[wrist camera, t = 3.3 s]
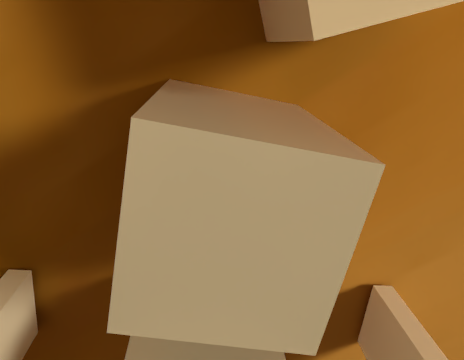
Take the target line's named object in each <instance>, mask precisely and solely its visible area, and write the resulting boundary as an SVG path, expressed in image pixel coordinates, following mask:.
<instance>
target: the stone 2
mask: <svg viewBox="0 0 464 360" xmlns="http://www.w3.org/2000/svg"><path fill="white" fill-rule="evenodd" d="M124 360H286V358H285V354H284V352H276V351H267V350H258V349H249V348H240V347H231V346H222V345H212V344H203V343H194V342H185V341H176V340H167V339H158V338H149V337H139V336H130V340H129V344H128V348H127V352H126V356H125V359H124Z"/></svg>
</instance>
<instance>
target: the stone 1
mask: <svg viewBox="0 0 464 360" xmlns="http://www.w3.org/2000/svg"><path fill="white" fill-rule="evenodd" d="M384 168H385V164H383V163H382V162H380V161H379V160H378V159H376V158H375V157H373V156H372V155H370V154H369V153H367V152H366V151H364V150H363V149H361V148H360V147H358V146H357V145H356V144H354V143H353V142H351V141H350V140H348V139H347V138H345V137H344V136H342V135H341V134H339V133H338V132H336V131H335V130H334V129H332V128H331V127H329V126H328V125H326V124H325V123H323V122H322V121H320V120H319V119H317V118H316V117H314V116H313V115H312V114H310V113H309V112H307V111H306V110H304V109H303V108H301V107H300V106H298V105H295V104H290V103H285V102H280V101H276V100H271V99H266V98H261V97H256V96H251V95H246V94H241V93H236V92H232V91H227V90H222V89H217V88H212V87H207V86H202V85H197V84H192V83H188V82H183V81H178V80H173V79H169V80H168V81H167V82H166V83H165V84H164V85H163V86H162V87H161V88H160V89H159V90H158V91H157V92H156V93H155V94H154V95H153V96H152V97H151V98H150V99H149V100H148V101H147V102H146V103H145V104H144V105H143V106H142V107H141V108H140V109H139V110H138V111H137V112H136V113H135V114H134V115H133V116H132V117H131V124H130V133H129V141H128V150H127V159H126V168H125V177H124V185H123V194H122V203H121V212H120V221H119V229H118V238H117V247H116V256H115V265H114V273H113V282H112V291H111V300H110V309H109V317H108V326H107V333H112V334H121V335H130V336H139V337H149V338H158V339H167V340H176V341H185V342H194V343H203V344H212V345H222V346H231V347H240V348H249V349H258V350H267V351H276V352H285V353H295V354H304V355H313V356H316V353H317V350H318V348H319V345H320V342H321V339H322V337H323V334H324V331H325V329H326V326H327V323H328V320H329V318H330V315H331V312H332V309H333V307H334V304H335V301H336V299H337V296H338V293H339V290H340V288H341V285H342V282H343V279H344V277H345V274H346V271H347V269H348V266H349V263H350V260H351V258H352V255H353V252H354V250H355V247H356V244H357V241H358V239H359V236H360V233H361V230H362V228H363V225H364V222H365V220H366V217H367V214H368V211H369V209H370V206H371V203H372V201H373V198H374V195H375V192H376V190H377V187H378V184H379V181H380V179H381V176H382V173H383V171H384Z"/></svg>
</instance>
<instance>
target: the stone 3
mask: <svg viewBox="0 0 464 360" xmlns="http://www.w3.org/2000/svg"><path fill="white" fill-rule="evenodd" d="M258 1H259V6H260V11H261V16H262V21H263V26H264V31H265V36H266V41H267V42H288V41H315V40H319V39H323V38H327V37H330V36H334V35H338V34H342V33H345V32H349V31H353V30H357V29H360V28H364V27H368V26H371V25H375V24H379V23H383V22H386V21H390V20H394V19H398V18H401V17H405V16H409V15H413V14H416V13H420V12H424V11H428V10H431V9H435V8H439V7H443V6H446V5H450V4H454V3H458V2H461V1H464V0H258Z"/></svg>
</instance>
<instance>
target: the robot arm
mask: <svg viewBox="0 0 464 360" xmlns="http://www.w3.org/2000/svg"><path fill="white" fill-rule="evenodd" d="M37 333H38V327H37V317H36V308H35V299H34V289H33V280H32V271H31V270H11V269H8V270H7V272H6V273H5V274H4V275H3V276H2V277H1V279H0V360H22V359H23V358H24V356H25V354H26V352H27V351H28V349H29V347H30V345H31V344H32V342H33V340H34V338H35V337H36V335H37ZM358 343H359V345H360V347H361V349H362V351H363V353H364V355H365V357H366V359H367V360H448V359H447V358H446V356H445V355H444V354H443V352H442V351H441V350H440V348H439V347H438V346H437V344H436V343H435V342H434V340H433V339H432V338H431V337H430V335H429V334H428V333H427V331H426V330H425V329H424V327H423V326H422V325H421V323H420V322H419V321H418V319H417V318H416V317H415V316H414V314H413V313H412V312H411V310H410V309H409V308H408V306H407V305H406V304H405V302H404V301H403V300H402V298H401V297H400V296H399V294H398V293H397V292H396V291H395V289H394V288H393V287H392V286H379V285H373V288H372V291H371V295H370V298H369V302H368V305H367V309H366V313H365V316H364V320H363V323H362V327H361V330H360V334H359V338H358Z"/></svg>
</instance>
